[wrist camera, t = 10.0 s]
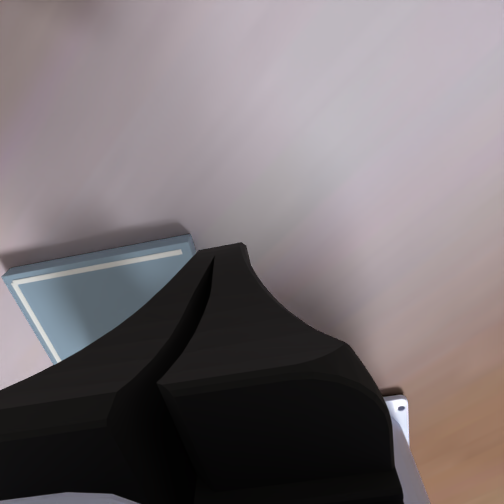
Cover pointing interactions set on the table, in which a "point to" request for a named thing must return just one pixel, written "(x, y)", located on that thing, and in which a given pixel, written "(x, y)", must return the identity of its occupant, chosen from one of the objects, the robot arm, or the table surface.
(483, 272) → the table surface
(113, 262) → the blueprint board
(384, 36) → the table surface
